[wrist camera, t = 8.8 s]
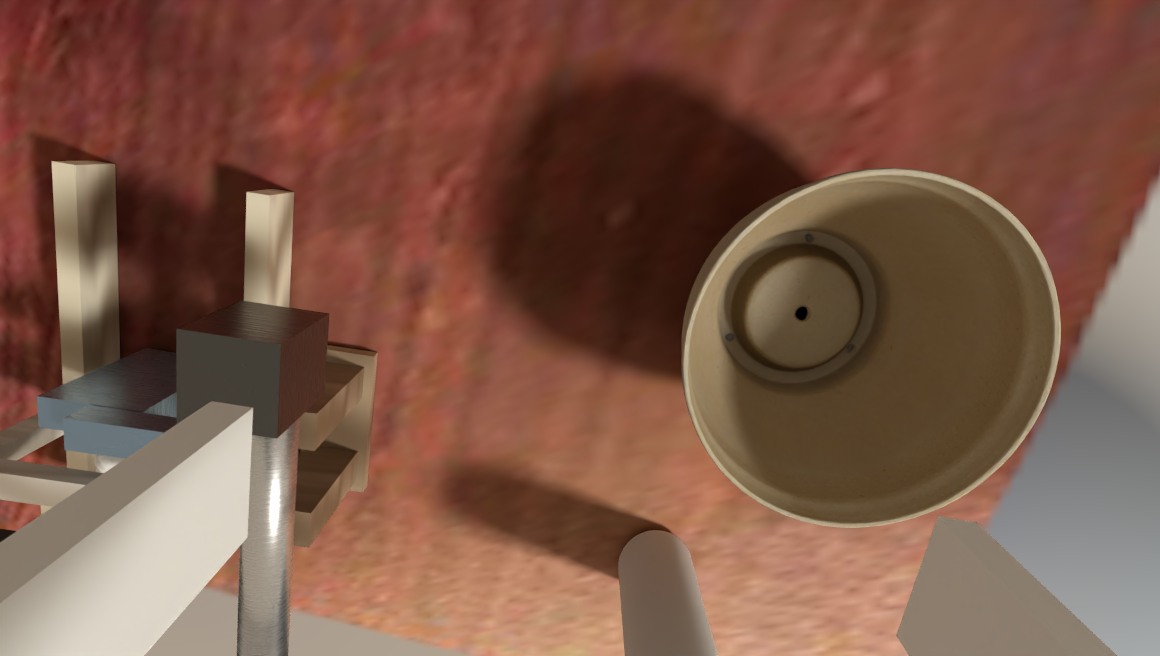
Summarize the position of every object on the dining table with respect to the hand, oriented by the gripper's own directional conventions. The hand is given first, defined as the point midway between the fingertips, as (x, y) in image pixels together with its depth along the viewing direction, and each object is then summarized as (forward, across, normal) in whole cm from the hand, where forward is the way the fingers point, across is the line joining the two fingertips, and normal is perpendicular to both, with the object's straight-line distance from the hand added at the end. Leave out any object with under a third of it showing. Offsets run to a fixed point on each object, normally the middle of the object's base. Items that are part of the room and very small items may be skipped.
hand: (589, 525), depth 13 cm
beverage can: (+27, +8, -18) cm, 33 cm away
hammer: (+26, -18, -13) cm, 34 cm away
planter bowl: (+27, +12, 0) cm, 30 cm away
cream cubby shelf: (+27, -14, -11) cm, 32 cm away
